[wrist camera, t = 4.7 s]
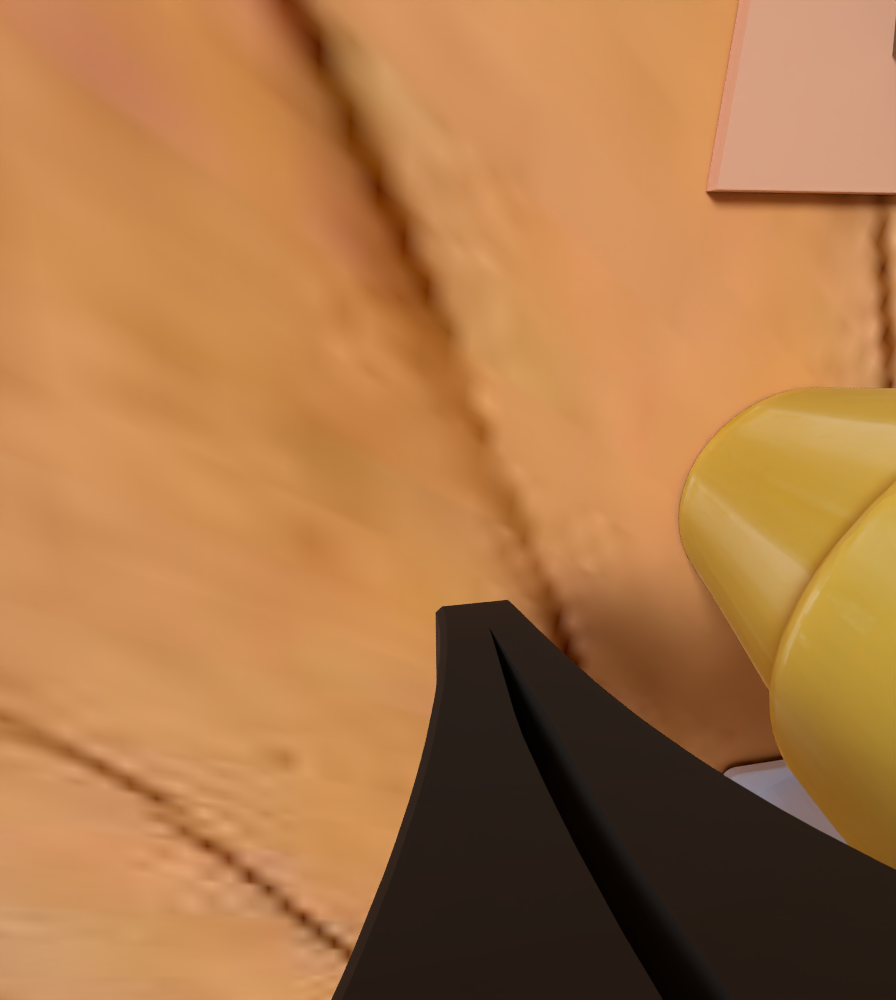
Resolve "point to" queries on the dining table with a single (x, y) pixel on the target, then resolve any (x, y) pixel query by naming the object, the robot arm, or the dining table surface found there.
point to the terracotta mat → (809, 99)
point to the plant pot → (812, 586)
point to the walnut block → (895, 43)
